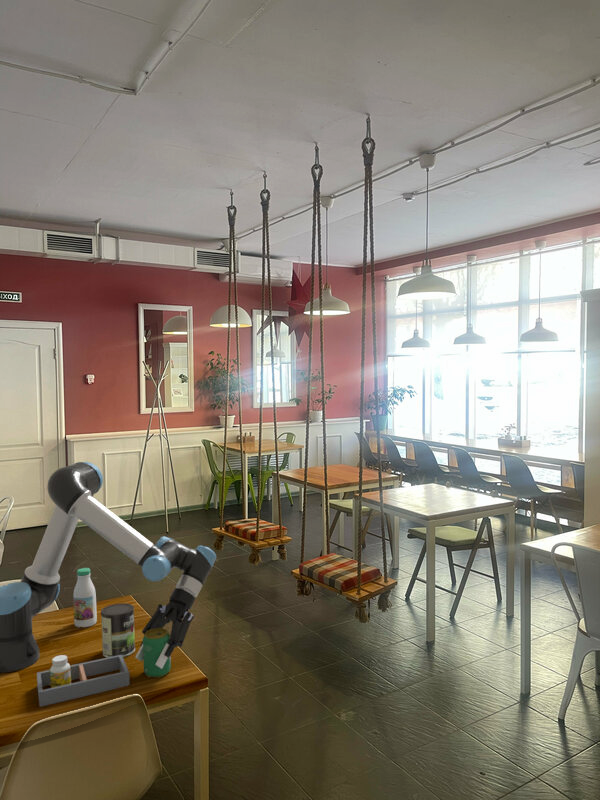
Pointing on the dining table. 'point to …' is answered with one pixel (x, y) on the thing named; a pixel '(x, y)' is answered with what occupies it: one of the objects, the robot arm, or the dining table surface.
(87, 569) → the milk bottle
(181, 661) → the dining table surface
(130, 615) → the coffee can
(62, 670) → the supplement bottle
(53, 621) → the dining table surface
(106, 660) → the caddy
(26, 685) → the dining table surface
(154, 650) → the beverage can
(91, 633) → the dining table surface
